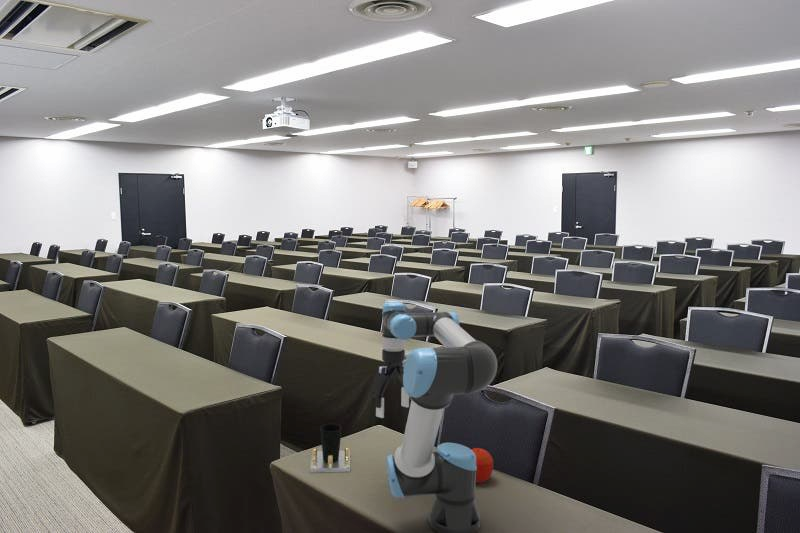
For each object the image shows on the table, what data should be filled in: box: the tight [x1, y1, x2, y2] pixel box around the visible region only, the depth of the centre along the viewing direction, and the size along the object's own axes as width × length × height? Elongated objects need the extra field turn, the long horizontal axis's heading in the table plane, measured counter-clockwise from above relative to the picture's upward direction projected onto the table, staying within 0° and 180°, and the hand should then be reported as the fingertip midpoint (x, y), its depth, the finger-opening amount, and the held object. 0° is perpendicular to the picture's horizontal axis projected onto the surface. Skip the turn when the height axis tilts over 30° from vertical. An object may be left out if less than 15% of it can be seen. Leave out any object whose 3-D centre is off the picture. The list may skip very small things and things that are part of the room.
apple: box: [470, 447, 494, 484], centre depth 194 cm, size 10×10×12 cm
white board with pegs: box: [309, 447, 351, 474], centre depth 204 cm, size 14×14×6 cm
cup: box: [319, 423, 343, 462], centre depth 204 cm, size 8×8×12 cm
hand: (392, 411), depth 188 cm, fingers open, 13 cm apart
